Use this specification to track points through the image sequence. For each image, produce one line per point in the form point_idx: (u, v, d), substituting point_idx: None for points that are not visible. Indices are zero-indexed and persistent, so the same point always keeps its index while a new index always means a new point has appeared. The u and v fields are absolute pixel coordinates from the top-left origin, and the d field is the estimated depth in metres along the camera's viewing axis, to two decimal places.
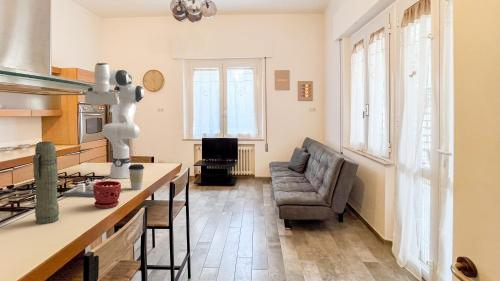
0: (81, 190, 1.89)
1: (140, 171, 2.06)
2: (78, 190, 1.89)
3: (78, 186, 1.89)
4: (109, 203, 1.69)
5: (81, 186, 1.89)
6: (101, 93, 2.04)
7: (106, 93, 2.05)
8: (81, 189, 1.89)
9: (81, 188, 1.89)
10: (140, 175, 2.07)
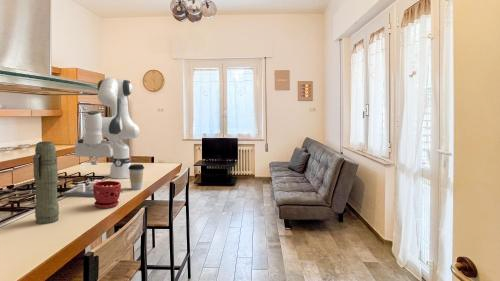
0: (81, 190, 1.89)
1: (140, 171, 2.06)
2: (78, 190, 1.89)
3: (78, 186, 1.89)
4: (109, 203, 1.69)
5: (81, 186, 1.89)
6: (92, 145, 1.85)
7: (98, 145, 1.86)
8: (81, 189, 1.89)
9: (81, 188, 1.89)
10: (140, 175, 2.07)
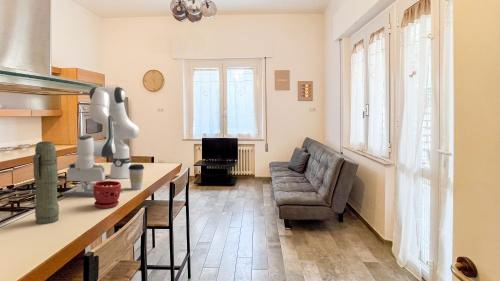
0: (80, 190, 1.89)
1: (140, 171, 2.06)
2: (77, 190, 1.89)
3: (77, 186, 1.89)
4: (109, 203, 1.69)
5: (80, 186, 1.89)
6: (84, 170, 1.86)
7: (90, 169, 1.88)
8: (80, 189, 1.89)
9: (80, 188, 1.89)
10: (140, 175, 2.07)
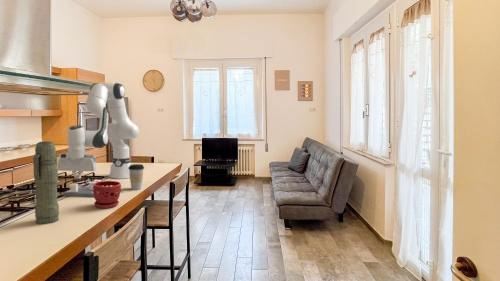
0: (74, 190, 1.89)
1: (140, 171, 2.06)
2: (71, 190, 1.89)
3: (71, 186, 1.89)
4: (109, 203, 1.69)
5: (74, 186, 1.89)
6: (75, 160, 1.86)
7: (81, 159, 1.87)
8: (74, 189, 1.89)
9: (74, 188, 1.89)
10: (140, 175, 2.07)
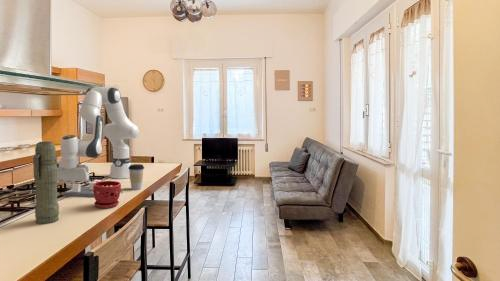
0: (76, 190, 1.89)
1: (140, 171, 2.06)
2: (73, 190, 1.89)
3: (73, 186, 1.89)
4: (109, 203, 1.69)
5: (76, 186, 1.89)
6: (68, 169, 1.86)
7: (74, 169, 1.87)
8: (76, 189, 1.89)
9: (76, 188, 1.89)
10: (140, 175, 2.07)
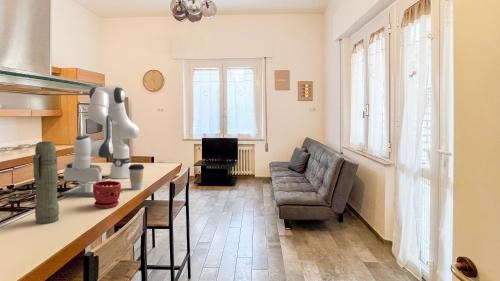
0: (88, 190, 1.89)
1: (140, 171, 2.06)
2: (85, 190, 1.89)
3: (86, 186, 1.89)
4: (109, 203, 1.69)
5: (89, 186, 1.89)
6: (81, 170, 1.86)
7: (87, 169, 1.87)
8: (89, 189, 1.89)
9: (89, 188, 1.89)
10: (140, 175, 2.07)
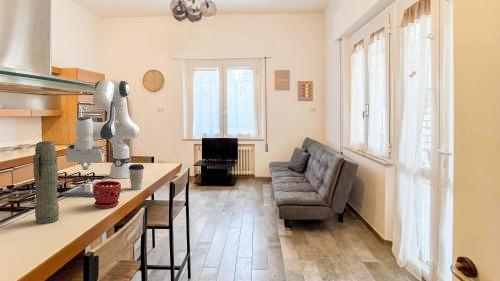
0: (88, 190, 1.89)
1: (140, 171, 2.06)
2: (85, 190, 1.89)
3: (85, 186, 1.89)
4: (109, 203, 1.69)
5: (88, 186, 1.89)
6: (84, 151, 1.85)
7: (89, 150, 1.87)
8: (88, 189, 1.89)
9: (88, 188, 1.89)
10: (140, 175, 2.07)
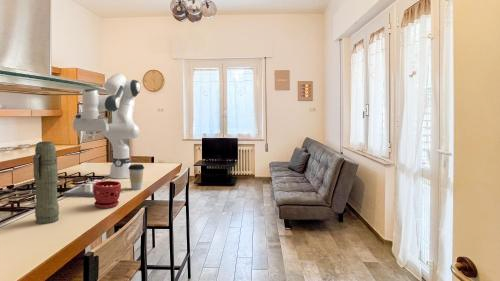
0: (88, 190, 1.89)
1: (140, 171, 2.06)
2: (85, 190, 1.89)
3: (85, 186, 1.89)
4: (109, 203, 1.69)
5: (88, 186, 1.89)
6: (89, 120, 1.99)
7: (95, 120, 2.00)
8: (88, 189, 1.89)
9: (88, 188, 1.89)
10: (140, 175, 2.07)
